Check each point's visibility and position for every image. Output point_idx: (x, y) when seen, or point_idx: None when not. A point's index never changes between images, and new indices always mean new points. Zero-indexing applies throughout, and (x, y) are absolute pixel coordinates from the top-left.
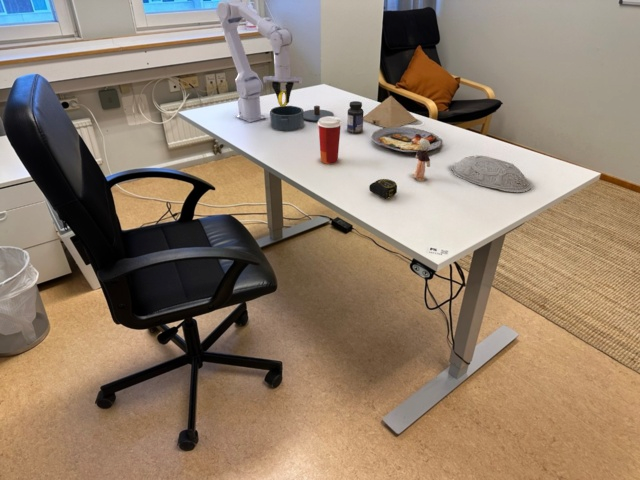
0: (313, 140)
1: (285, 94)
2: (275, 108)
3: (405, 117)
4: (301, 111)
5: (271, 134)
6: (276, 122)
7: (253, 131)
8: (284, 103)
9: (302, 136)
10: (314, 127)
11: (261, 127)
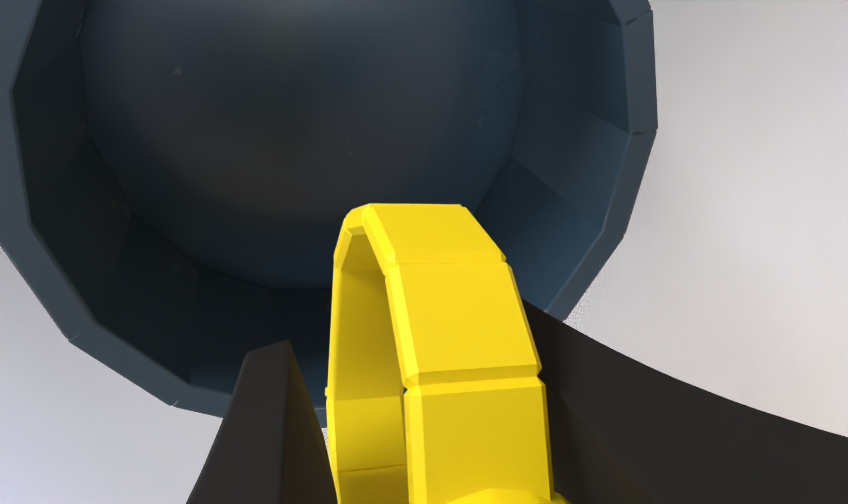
0: (690, 366)
1: (413, 308)
2: (16, 86)
3: None
4: (631, 115)
5: None
6: None
7: (21, 440)
8: (352, 260)
9: (590, 332)
10: (672, 39)
11: (10, 296)
